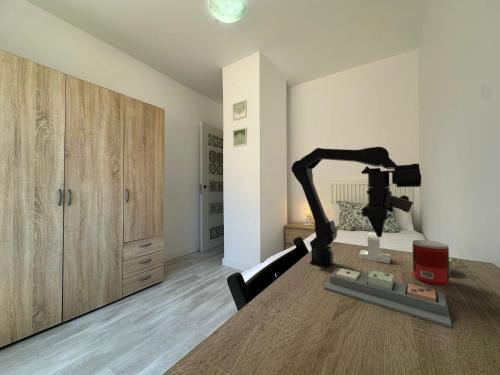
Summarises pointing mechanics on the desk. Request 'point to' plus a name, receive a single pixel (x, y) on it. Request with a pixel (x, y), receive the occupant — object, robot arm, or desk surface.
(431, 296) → the tile
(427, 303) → the board
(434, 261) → the canned food
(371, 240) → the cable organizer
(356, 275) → the tile
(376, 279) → the tile
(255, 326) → the desk surface
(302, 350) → the desk surface
